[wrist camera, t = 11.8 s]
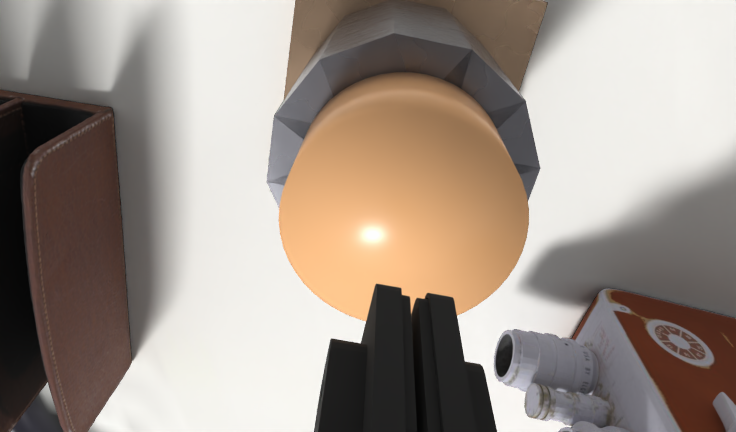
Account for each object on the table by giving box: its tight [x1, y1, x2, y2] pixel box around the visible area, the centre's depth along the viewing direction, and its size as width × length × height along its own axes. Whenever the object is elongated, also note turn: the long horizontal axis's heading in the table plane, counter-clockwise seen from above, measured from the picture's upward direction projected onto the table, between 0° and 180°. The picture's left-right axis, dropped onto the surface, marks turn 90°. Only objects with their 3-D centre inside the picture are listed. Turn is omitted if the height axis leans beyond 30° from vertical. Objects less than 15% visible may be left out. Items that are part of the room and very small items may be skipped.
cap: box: [279, 72, 529, 321], centre depth 19 cm, size 7×7×7 cm
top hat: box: [267, 0, 548, 207], centre depth 24 cm, size 12×12×11 cm
